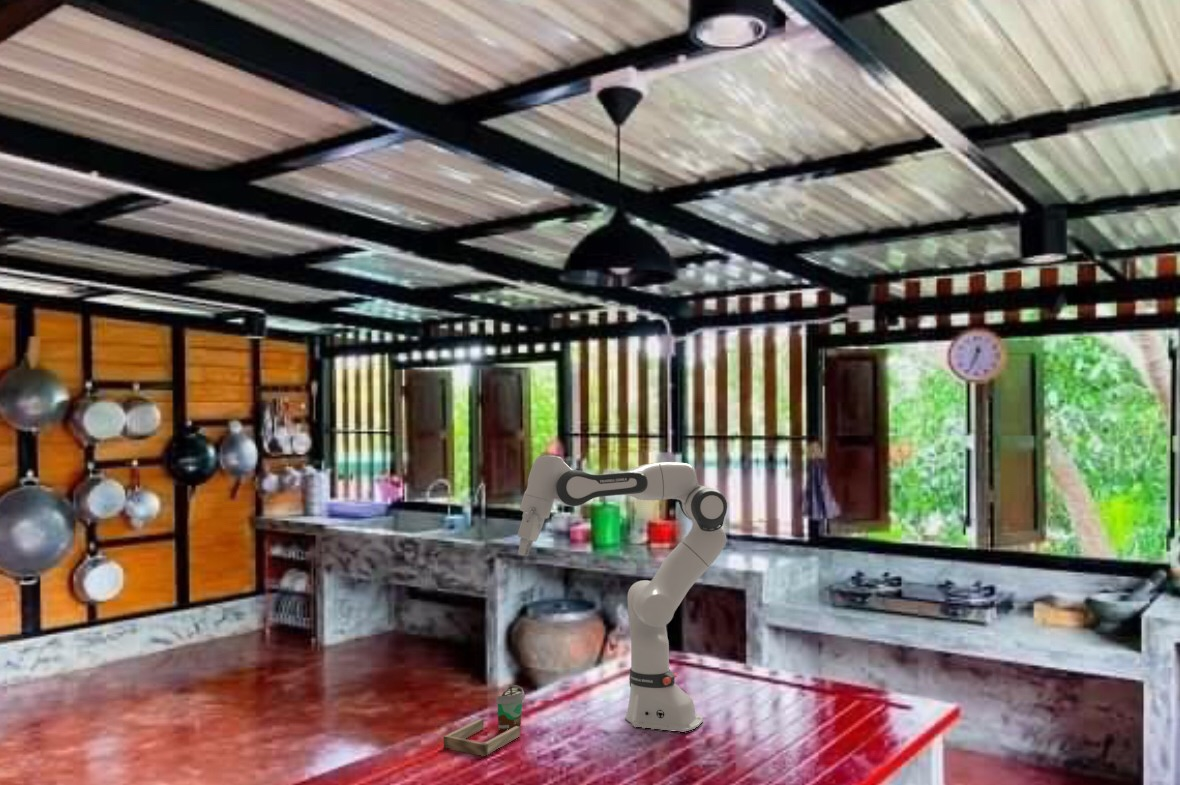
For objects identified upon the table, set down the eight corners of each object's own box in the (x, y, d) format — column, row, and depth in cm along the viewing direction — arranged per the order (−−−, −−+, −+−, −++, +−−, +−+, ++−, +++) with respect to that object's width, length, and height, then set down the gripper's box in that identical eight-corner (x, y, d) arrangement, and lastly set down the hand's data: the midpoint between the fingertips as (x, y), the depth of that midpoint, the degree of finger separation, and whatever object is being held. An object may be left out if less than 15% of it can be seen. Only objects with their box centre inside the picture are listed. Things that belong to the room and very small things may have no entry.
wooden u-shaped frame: (519, 737, 249) (519, 726, 249) (484, 757, 235) (484, 745, 235) (479, 729, 255) (479, 718, 256) (443, 747, 241) (443, 736, 241)
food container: (518, 734, 252) (518, 698, 252) (496, 732, 253) (496, 696, 253) (529, 719, 264) (529, 685, 264) (509, 718, 265) (509, 683, 265)
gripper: (542, 508, 252) (529, 557, 250) (549, 513, 272) (536, 558, 270) (521, 503, 253) (507, 551, 250) (529, 507, 273) (516, 553, 270)
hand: (522, 555), depth 260 cm, fingers open, 8 cm apart
